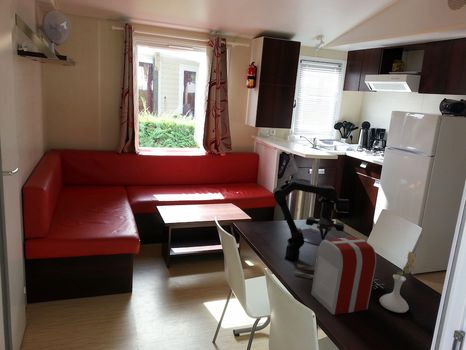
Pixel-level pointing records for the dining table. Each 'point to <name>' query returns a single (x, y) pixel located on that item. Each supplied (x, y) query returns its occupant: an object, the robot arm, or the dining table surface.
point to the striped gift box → (344, 274)
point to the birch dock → (304, 273)
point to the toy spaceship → (315, 236)
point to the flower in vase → (394, 298)
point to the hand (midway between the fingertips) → (322, 239)
